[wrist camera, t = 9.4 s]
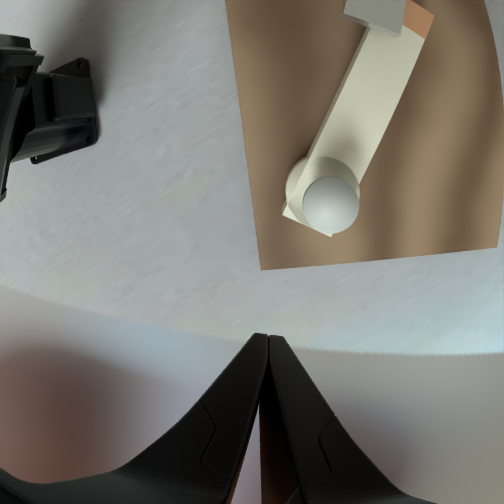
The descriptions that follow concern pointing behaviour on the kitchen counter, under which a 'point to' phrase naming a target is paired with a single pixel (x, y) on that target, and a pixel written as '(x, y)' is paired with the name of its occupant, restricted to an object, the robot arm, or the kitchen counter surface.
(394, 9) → the block
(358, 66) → the bar
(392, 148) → the base plate
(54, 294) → the kitchen counter surface
